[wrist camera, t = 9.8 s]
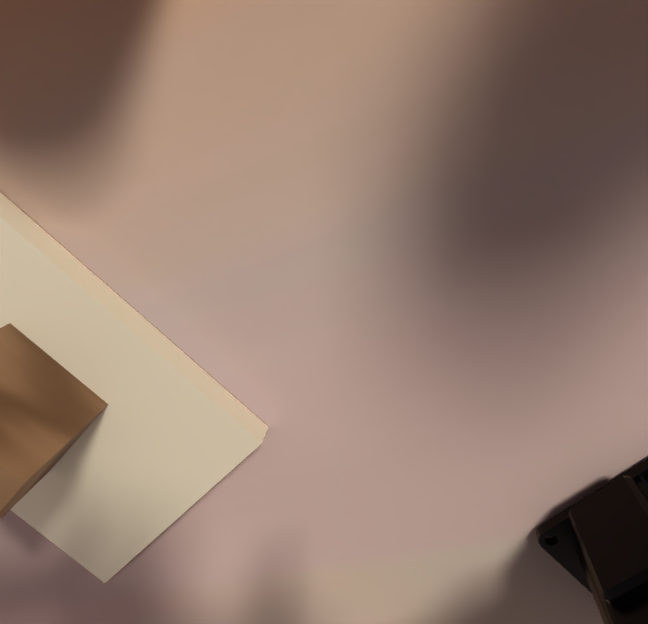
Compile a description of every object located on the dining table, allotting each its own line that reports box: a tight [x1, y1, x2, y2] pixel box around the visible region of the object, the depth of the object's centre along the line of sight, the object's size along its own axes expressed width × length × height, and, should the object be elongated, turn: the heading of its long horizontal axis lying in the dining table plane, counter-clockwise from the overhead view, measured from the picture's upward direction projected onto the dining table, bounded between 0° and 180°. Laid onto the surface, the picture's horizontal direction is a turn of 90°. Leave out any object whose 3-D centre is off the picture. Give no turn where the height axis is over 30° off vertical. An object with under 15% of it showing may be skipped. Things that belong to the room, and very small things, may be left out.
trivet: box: [0, 192, 269, 583], centre depth 22 cm, size 16×12×1 cm
